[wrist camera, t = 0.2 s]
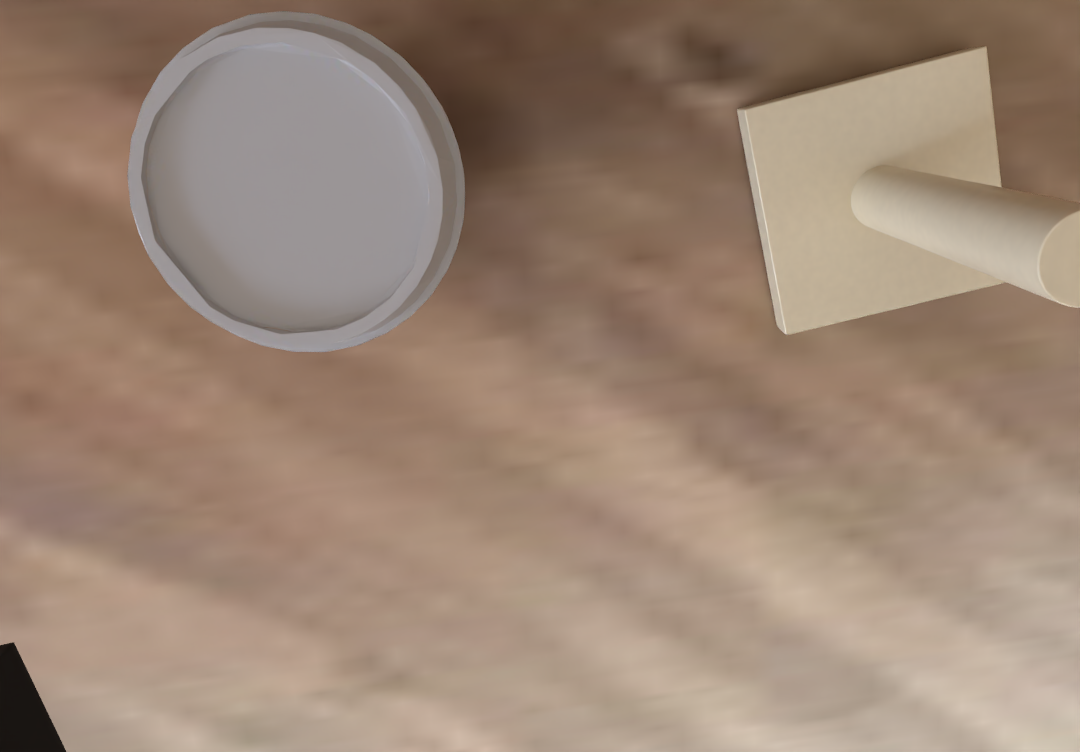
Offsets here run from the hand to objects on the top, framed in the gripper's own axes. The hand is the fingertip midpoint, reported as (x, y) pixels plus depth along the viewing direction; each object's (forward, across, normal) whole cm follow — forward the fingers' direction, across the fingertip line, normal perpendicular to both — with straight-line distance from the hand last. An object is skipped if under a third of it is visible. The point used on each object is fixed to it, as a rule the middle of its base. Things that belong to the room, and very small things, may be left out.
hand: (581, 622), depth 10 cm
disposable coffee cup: (+28, -6, +5) cm, 29 cm away
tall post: (+28, +12, -1) cm, 30 cm away
